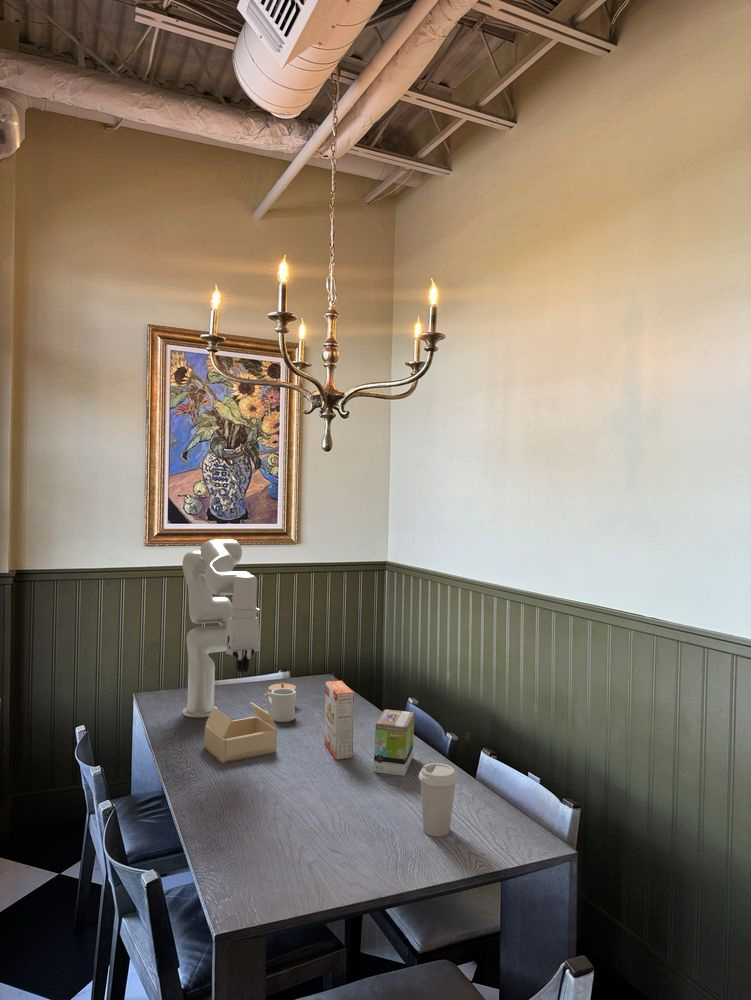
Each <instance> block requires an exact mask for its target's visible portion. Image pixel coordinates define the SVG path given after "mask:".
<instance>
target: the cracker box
mask: <svg viewBox="0 0 751 1000" xmlns="http://www.w3.org/2000/svg"><path fill="white" fill-rule="evenodd" d="M324 702H325V703H324V745H325V747H326V748H327V749H328V751H329V752H330V753H331V755H332V756H333V758H334V759H335V760H336V761H337V760H339V761H340V760H346V759H353V757H354V756H353V755H354V754H353V752H354V751H353V750H354V749H353V748H354V712H355V711H354V709H355V708H354V707H355V705H354V703H355V692H354V691H353V690H352V689H351V688H350V687H349V686H347V685H346V683H345V682H344V681H343V680H333V681H332V680H330V681H329V680H328V681H325V701H324Z"/></svg>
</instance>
